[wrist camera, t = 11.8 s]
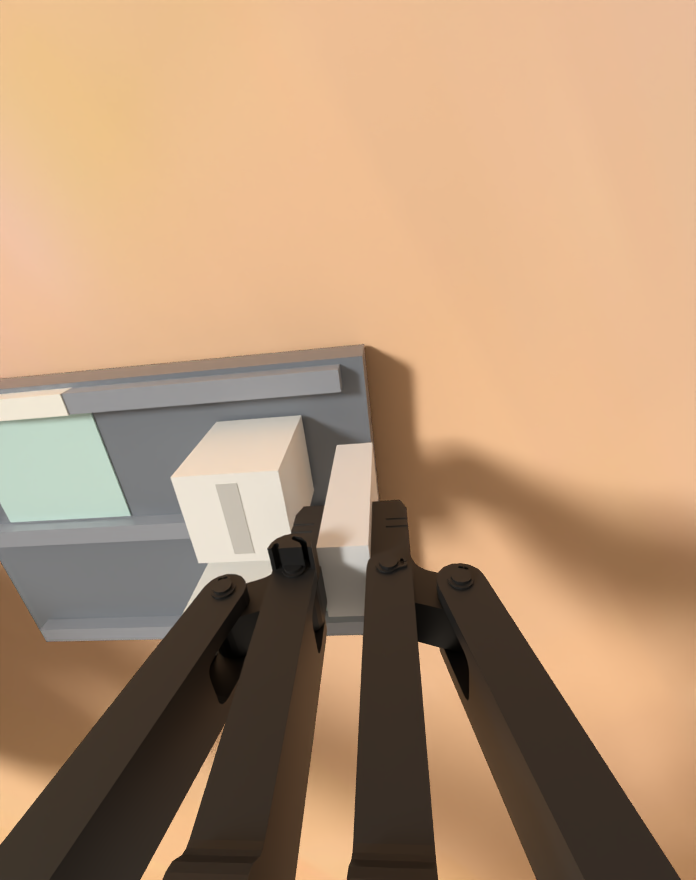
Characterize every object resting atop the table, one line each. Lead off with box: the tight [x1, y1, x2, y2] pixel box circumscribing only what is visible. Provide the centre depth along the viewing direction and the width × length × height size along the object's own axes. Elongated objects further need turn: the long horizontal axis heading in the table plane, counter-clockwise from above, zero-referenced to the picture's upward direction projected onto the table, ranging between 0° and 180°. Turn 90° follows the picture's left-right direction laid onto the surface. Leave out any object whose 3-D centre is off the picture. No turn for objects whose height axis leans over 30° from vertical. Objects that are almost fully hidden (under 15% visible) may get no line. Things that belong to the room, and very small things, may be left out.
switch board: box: [0, 344, 379, 642], centre depth 24 cm, size 22×16×3 cm
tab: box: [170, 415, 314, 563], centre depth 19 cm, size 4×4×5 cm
